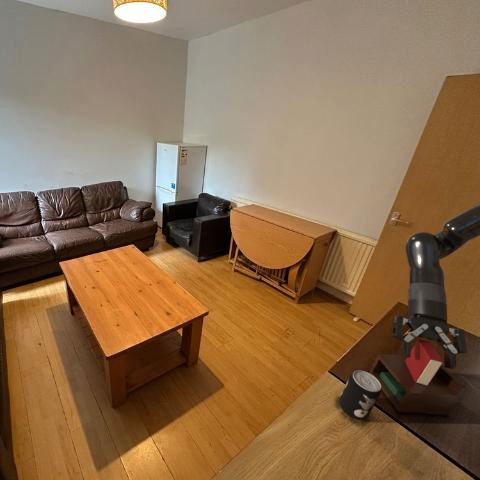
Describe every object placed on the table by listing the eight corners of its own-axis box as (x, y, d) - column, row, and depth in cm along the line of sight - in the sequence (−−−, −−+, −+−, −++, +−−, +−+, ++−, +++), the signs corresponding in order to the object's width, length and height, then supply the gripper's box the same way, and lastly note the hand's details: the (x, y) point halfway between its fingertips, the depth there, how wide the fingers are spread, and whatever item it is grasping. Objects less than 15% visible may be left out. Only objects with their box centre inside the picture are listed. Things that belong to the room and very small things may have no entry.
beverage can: (342, 417, 68) (356, 388, 62) (334, 394, 73) (347, 366, 68) (371, 425, 66) (388, 396, 61) (361, 401, 71) (376, 372, 66)
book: (416, 364, 73) (430, 341, 69) (427, 386, 67) (443, 362, 63) (404, 361, 74) (417, 338, 70) (415, 382, 68) (430, 359, 64)
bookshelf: (409, 374, 79) (425, 348, 74) (446, 414, 68) (467, 388, 63) (368, 372, 79) (381, 346, 75) (398, 411, 69) (415, 385, 64)
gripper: (401, 293, 70) (400, 354, 66) (472, 306, 65) (476, 374, 61) (388, 297, 77) (386, 353, 72) (451, 309, 72) (453, 370, 67)
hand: (427, 362), depth 67 cm, fingers open, 8 cm apart
